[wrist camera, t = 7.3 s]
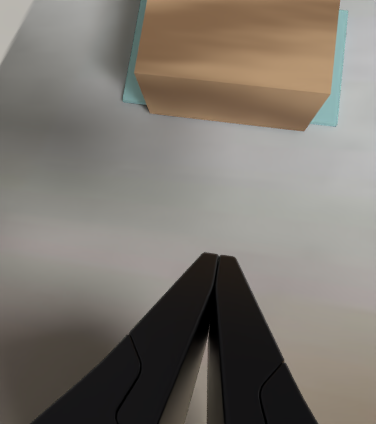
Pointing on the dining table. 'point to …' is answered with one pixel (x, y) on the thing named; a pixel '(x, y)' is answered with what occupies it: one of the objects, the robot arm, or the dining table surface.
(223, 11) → the light brown wooden block
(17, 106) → the dining table surface
